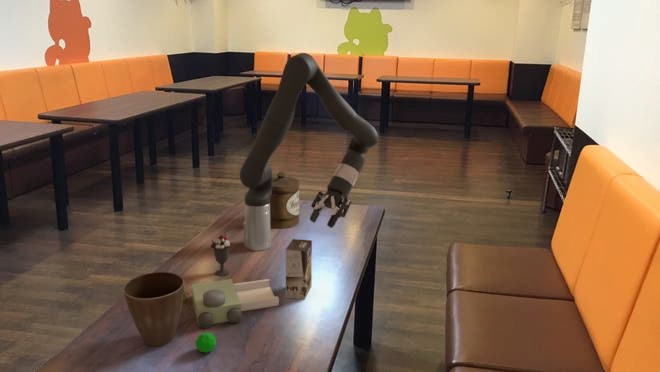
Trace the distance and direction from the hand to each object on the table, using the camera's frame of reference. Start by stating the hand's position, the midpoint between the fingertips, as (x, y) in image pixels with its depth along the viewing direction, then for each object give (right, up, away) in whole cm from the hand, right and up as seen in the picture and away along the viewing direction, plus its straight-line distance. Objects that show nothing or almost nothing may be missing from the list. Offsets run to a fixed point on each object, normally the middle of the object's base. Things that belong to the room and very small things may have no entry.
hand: (320, 223), depth 173 cm
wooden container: (-17, -3, +56) cm, 59 cm away
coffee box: (-7, -21, -3) cm, 23 cm away
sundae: (-33, -17, +9) cm, 38 cm away
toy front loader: (-25, -24, -12) cm, 36 cm away
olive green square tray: (-45, -23, -9) cm, 51 cm away
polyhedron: (-29, -30, -34) cm, 54 cm away
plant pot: (-42, -29, -30) cm, 59 cm away
